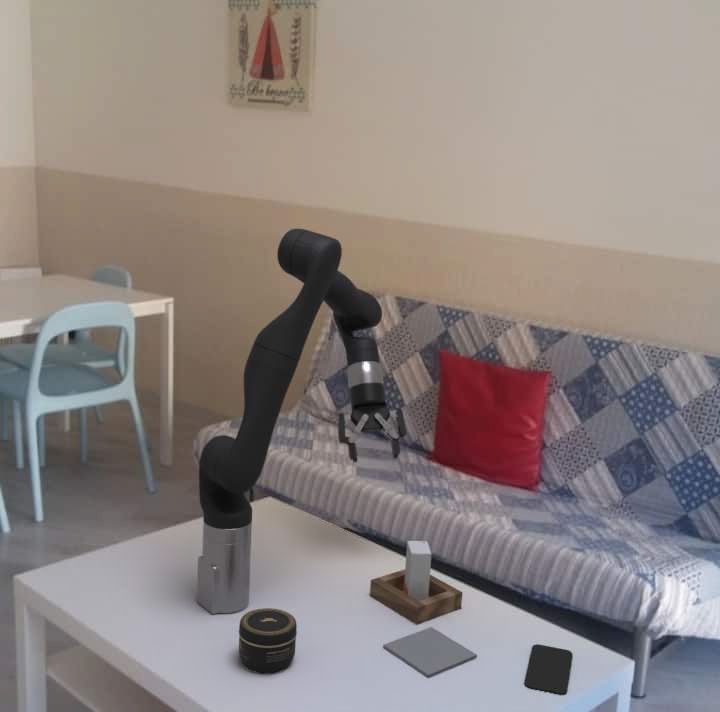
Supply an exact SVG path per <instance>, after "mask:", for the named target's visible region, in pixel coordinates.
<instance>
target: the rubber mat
mask: <svg viewBox="0 0 720 712" xmlns="http://www.w3.org/2000/svg"><path fill="white" fill-rule="evenodd" d="M382 647H383V649H384V650H386V651H387V652H389V654H392V655H393V656H394V657H397V658H398V659H399V660H401V661H402V662H404V663H405V664H406V665H408V666H409V667H411V668H412V669H414V670H416V671H417V672H419V673H420V674H422V675H424V676H425V677H426V678H428V679H429V678H432V677H435V676H436V675H439V674H441V673H444V672H445V671H448V670H451V669H453V668H455V667H458V666H460V665H463V664H466V663H467V662H470V661H472V660H475V659H477V658H478V654H476V653H475V652H473V651H471V649H469V648H466V647H465V646H464V645H462V644H460V643H459V642H457V641H456V640H453V639H452V638H450V637H449V636H447V635H445V634H444V633H442V632H440V631H439V630H437V629H435V628H434V627H432V626H430V627H427V628H425V629H422V630H420V631H416V632H415V633H411V634H409V635H406V636H404V637H400V638H397V639H395V640H392V641H389V642H387V643H385V644H383V646H382Z"/></svg>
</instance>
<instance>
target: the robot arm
mask: <svg viewBox="0 0 720 712" xmlns="http://www.w3.org/2000/svg"><path fill="white" fill-rule="evenodd" d="M342 249H343V248H342V245H341V242H340V241H339V240H338V239H336V238H334V237H331V236H328V235H326V234H321V233H318V232H315V231H312V230H308V229H304V228H292V229H290V230H288V231H287V232H286V233H285V234H284V235H283V236H282V237H281V239H280V242H279V245H278V247H277V253H276V254H277V255H276V256H277V261H278V262H277V263H278V264H279V267H280V268H281V270H282V271H283V272H285V273H287V274H288V275H290V276H292V277H293V278H296V280H298V281H300V282H301V283H302V284H303V286H302V288H301V289H300V291H299V292H298V295H297V296H296V298H295V300H294V301H293V302H292V303H291V304H290V306H288V307H287V308H286V309H285V310H284V311H283V312H282V313H280V314H279V315H277V316H276V317H275V318H274V319H272V320H271V321H270V322H269V323H268V324H267V325H265V327H263V328H262V329H261V330H260V332H259V333H258V334H257V336H256V337H255V339H254V342H253V344H252V347H251V349H250V351H249V354H248V357H247V359H246V362H245V366H244V370H243V397H244V401H243V402H244V403H243V404H244V405H243V406H244V407H243V415H242V419H241V422H240V424H239V425H240V426H239V428H238V431H237V435H236V437H232V436H229V435H223V434H222V435H217V436H214V437H212V438H211V439H210V440H209V441H208V442H207V443H206V444H205V445H204V447H203V449H202V451H201V454H200V457H199V461H198V463H199V464H198V465H199V466H198V484H199V485H198V489H199V490H198V493H199V504H200V506H201V510H202V514H203V521H202V522H203V524H202V554H201V556H199V557H198V559H197V584H196V586H197V588H196V589H197V590H196V591H197V592H196V602H197V603H198V604H199V605H200V606H202V608H204V609H205V610H206V611H208V612H209V613H210V614H212V615H215V614H231V613H237V612H240V611H243V610H244V609H246V608H247V607H248V606H249V603H250V582H251V581H250V580H251V579H250V578H251V558H252V557H251V554H252V532H253V531H252V530H253V529H252V526H253V507H252V505H251V503H250V502H249V500H248V499H247V497H246V496H245V494H244V493H246V492H248V491H250V490H251V489H252V488H253V487H254V486H255V485H256V483H257V482H258V480H259V479H260V477H261V474H262V472H263V468H264V465H265V462H266V459H267V455H268V452H269V447H270V444H271V441H272V437H273V433H274V429H275V426H276V423H277V421H278V418H279V414H280V412H281V409H282V406H283V403H284V400H285V398H286V395H287V392H288V390H289V388H290V385H291V383H292V380H293V379H294V376H295V373H296V370H297V368H298V365H299V362H300V360H301V358H302V357H301V356H302V354H303V351H304V347H305V345H306V343H307V340H308V336H309V335H310V332H311V329H312V326H313V324H314V323H315V322H314V321H315V320H316V317H317V314H318V313H319V310H320V308H321V307H322V304H323V302H324V303H325V304H326V305H327V306H328V307H329V309H331V310H332V312H333V313H332V316H333V321H334V324H335V326H336V328H337V330H338V332H339V334H340V337H341V340H342V343H343V346H344V350H345V355H346V356H345V357H346V363H347V365H346V366H347V382H348V383H347V386H348V390H349V399H350V406H351V413H350V414H344V413H342V412H341V413H339V414H338V416H337V430H338V431H337V432H338V442H339V443H340V444H346V445H347V447H348V449H347V450H348V456H349V459H350V460H351V461H352V463H358V453H357V446H356V445H357V444H356V443H355V441H356V440H357V438H358V436H359V435H360V433H364V434H369V433H380V432H381V431H382V432H383V434H385V435H386V436H387V437H388V438H389V439H390V440H391V442H390V445H391V452H392V453H391V454H392V458H393V459H394V460H396V459H398V456H400V454H401V450H400V448H401V447H400V442H399V441H400V440H401V439H403V438H405V437H406V435H407V429H406V428H407V427H406V423H405V418H404V417H405V416H404V413H403V409H402V408H400V407H399V408H397V409H394V410H389V409H388V407H387V405H388V404H387V399H386V393H385V392H386V391H385V385H384V376H383V375H384V374H383V371H382V368H381V361H380V355H379V354H380V353H379V348H378V347H379V346H378V343H377V340H375V339H374V338H373V337H367V336H366V337H365V336H355V333H354V332H358V331H362V330H368V329H372V328H374V327H377V326H378V325H380V322H381V321H382V316H383V310H382V306H381V304H380V302H379V301H378V300H377V298H376V297H375V296H373V295H372V294H371V293H368V292H366V291H364V290H362V289H360V288H357V287H356V285H355V284H354V283H353V281H352V280H351V279H350V278H349V277H347V276H346V274H344V273H343V272H341V271H339V267H340V265H341V261H342V260H341V259H342V254H343V253H342V252H343V251H342ZM390 417H391V418H392V419H393V421H396V425H397V430H398V432H396V431H395V430H394V429H393V426H391V424H390V423H388V421H389V419H390ZM349 421H351V422H352V423H353V425H354V426H355V428H354V430H353V431H352V433H351V435H350V437H349V436H346V425H348V423H349Z"/></svg>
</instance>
